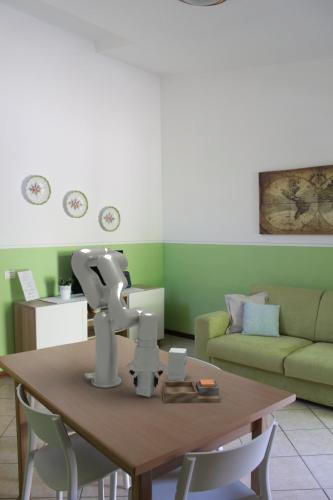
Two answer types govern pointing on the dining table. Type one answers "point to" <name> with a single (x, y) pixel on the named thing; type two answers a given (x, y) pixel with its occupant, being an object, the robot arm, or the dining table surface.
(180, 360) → the supplement box
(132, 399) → the dining table surface
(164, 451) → the dining table surface
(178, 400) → the tray
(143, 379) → the skincare box
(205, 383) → the button
